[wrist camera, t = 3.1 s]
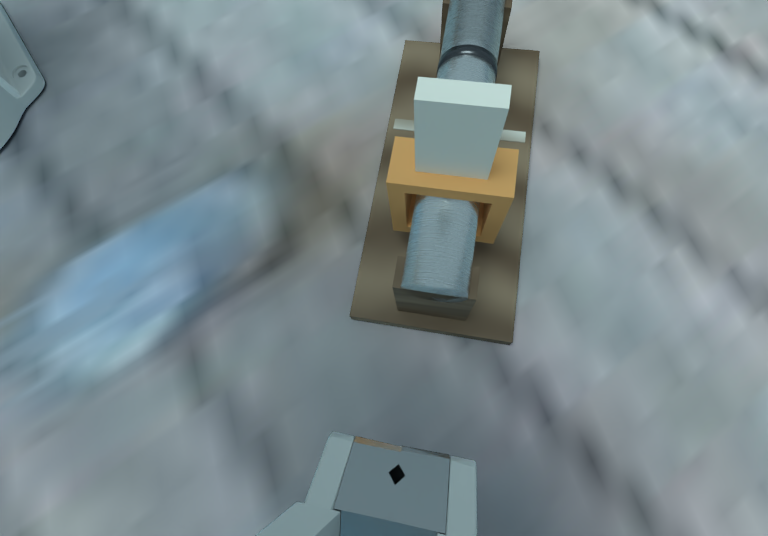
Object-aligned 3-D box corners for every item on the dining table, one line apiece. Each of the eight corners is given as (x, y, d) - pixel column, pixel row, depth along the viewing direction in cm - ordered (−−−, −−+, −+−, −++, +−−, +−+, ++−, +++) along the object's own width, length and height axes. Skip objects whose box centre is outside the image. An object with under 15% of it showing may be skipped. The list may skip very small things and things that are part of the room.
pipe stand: (509, 344, 32) (536, 326, 25) (351, 319, 34) (332, 294, 26) (536, 61, 40) (563, -21, 32) (405, 50, 41) (402, -30, 34)
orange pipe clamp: (493, 243, 30) (544, 131, 18) (393, 230, 31) (375, 113, 19) (497, 204, 31) (549, 70, 18) (400, 192, 32) (387, 57, 19)
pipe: (465, 306, 27) (472, 289, 24) (400, 296, 28) (398, 278, 24) (502, 10, 34) (513, -41, 30) (450, 6, 35) (454, -44, 31)
